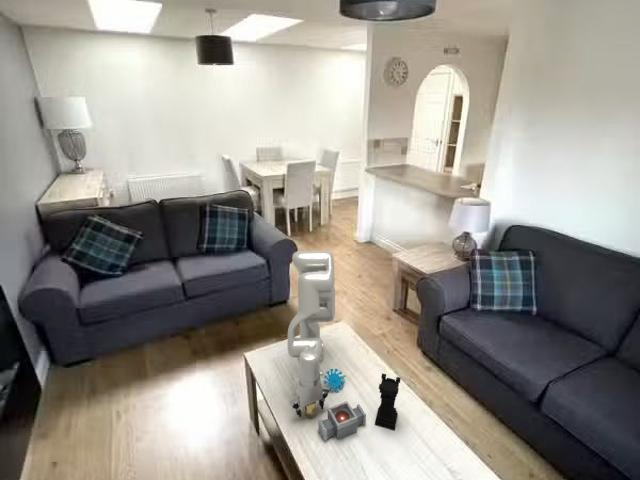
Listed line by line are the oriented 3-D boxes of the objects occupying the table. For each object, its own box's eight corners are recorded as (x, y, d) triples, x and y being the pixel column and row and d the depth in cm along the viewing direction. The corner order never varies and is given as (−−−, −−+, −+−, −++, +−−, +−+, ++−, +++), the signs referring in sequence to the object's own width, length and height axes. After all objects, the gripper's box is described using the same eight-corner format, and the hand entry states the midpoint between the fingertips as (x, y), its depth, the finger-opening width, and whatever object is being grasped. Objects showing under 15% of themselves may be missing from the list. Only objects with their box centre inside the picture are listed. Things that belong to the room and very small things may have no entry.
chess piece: (397, 414, 147) (401, 377, 139) (394, 430, 141) (399, 392, 133) (378, 409, 150) (381, 372, 142) (374, 424, 143) (377, 387, 135)
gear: (328, 394, 155) (322, 370, 158) (322, 395, 160) (317, 372, 163) (349, 388, 160) (344, 365, 163) (344, 389, 165) (338, 366, 168)
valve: (316, 427, 142) (316, 412, 139) (356, 411, 149) (357, 397, 146) (326, 445, 135) (326, 430, 132) (367, 428, 142) (368, 413, 138)
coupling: (302, 411, 149) (302, 399, 146) (313, 407, 151) (313, 395, 148) (307, 421, 145) (306, 408, 142) (318, 416, 147) (318, 404, 144)
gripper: (325, 365, 146) (325, 397, 153) (285, 378, 140) (287, 411, 147) (333, 378, 140) (333, 410, 147) (292, 392, 134) (293, 425, 140)
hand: (310, 410), depth 147 cm, fingers open, 9 cm apart
